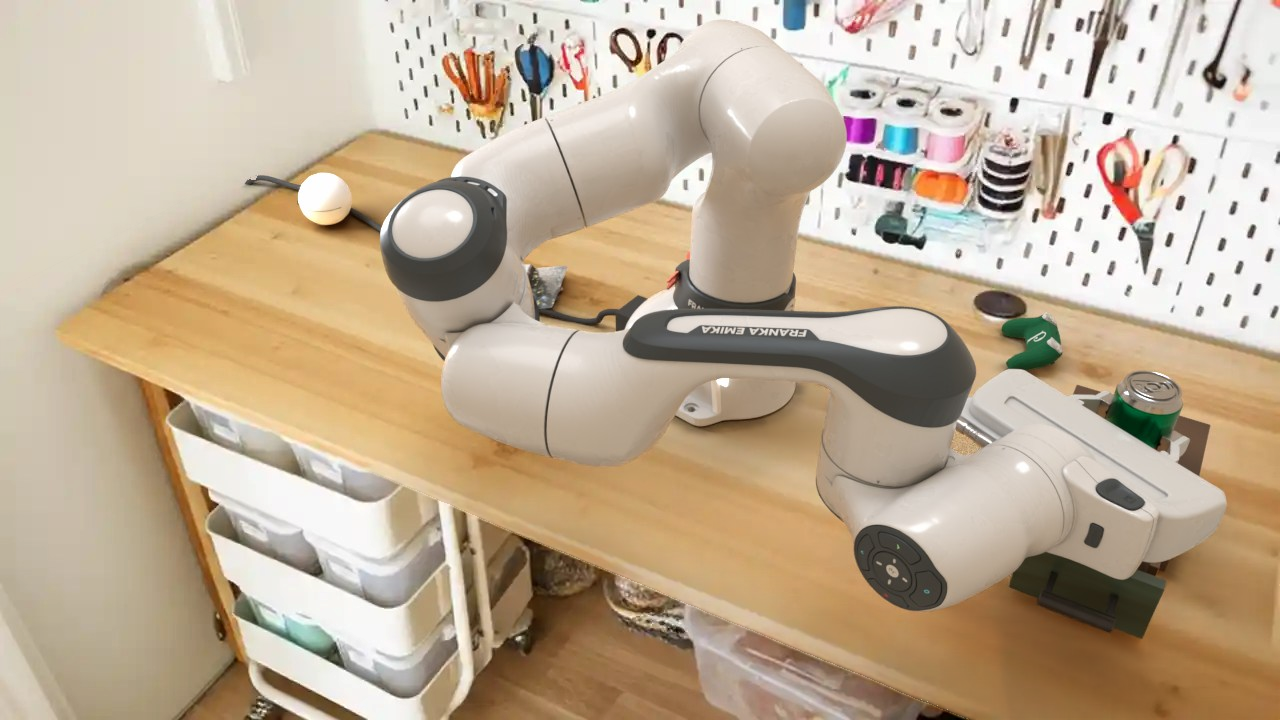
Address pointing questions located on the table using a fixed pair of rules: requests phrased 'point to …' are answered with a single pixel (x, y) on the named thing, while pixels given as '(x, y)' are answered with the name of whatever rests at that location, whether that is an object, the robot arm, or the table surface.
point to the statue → (545, 283)
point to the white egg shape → (325, 198)
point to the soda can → (1146, 406)
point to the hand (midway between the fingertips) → (1145, 420)
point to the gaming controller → (1034, 341)
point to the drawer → (1091, 592)
